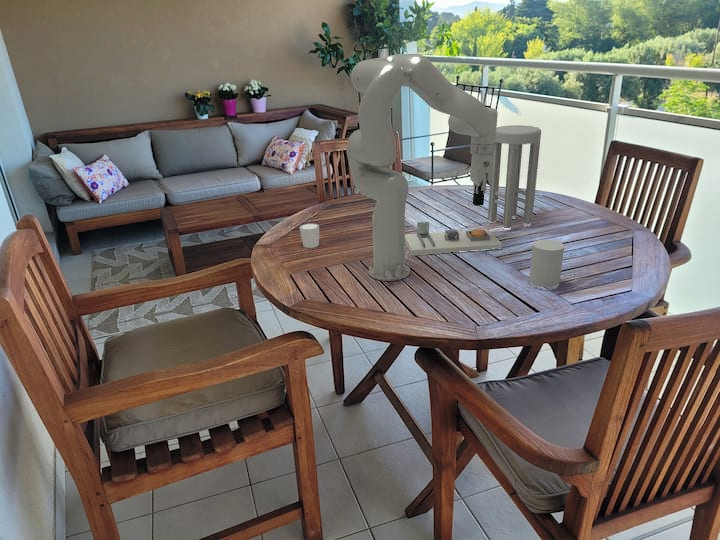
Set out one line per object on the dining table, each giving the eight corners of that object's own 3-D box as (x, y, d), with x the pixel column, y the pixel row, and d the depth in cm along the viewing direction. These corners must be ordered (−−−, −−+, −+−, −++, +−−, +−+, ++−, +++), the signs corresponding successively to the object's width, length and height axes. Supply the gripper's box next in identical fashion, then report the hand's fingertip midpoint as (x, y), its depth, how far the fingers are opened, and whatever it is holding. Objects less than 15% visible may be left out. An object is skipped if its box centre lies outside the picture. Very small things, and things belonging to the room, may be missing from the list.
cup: (552, 277, 150) (557, 238, 145) (563, 289, 143) (569, 249, 138) (524, 278, 150) (528, 240, 145) (534, 291, 143) (538, 251, 138)
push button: (486, 238, 175) (486, 233, 174) (473, 239, 174) (473, 234, 174) (482, 234, 179) (482, 229, 178) (469, 235, 179) (469, 229, 178)
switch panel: (501, 249, 171) (502, 239, 169) (411, 256, 169) (411, 245, 168) (487, 234, 185) (488, 224, 183) (404, 239, 183) (404, 229, 181)
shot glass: (297, 247, 181) (295, 228, 178) (308, 240, 186) (306, 222, 183) (313, 250, 178) (312, 230, 175) (324, 243, 183) (323, 224, 180)
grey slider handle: (429, 237, 178) (429, 223, 176) (418, 238, 178) (418, 224, 176) (427, 234, 181) (428, 220, 179) (416, 235, 181) (416, 221, 179)
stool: (504, 234, 184) (512, 133, 170) (479, 221, 198) (485, 127, 183) (540, 227, 189) (550, 129, 175) (513, 215, 203) (521, 123, 188)
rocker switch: (458, 237, 173) (458, 231, 173) (449, 238, 173) (449, 232, 172) (454, 235, 178) (454, 229, 178) (445, 235, 178) (445, 229, 178)
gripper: (501, 152, 158) (496, 210, 165) (486, 144, 172) (482, 198, 179) (477, 153, 157) (473, 211, 164) (464, 145, 171) (461, 199, 178)
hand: (478, 204), depth 172 cm, fingers closed
